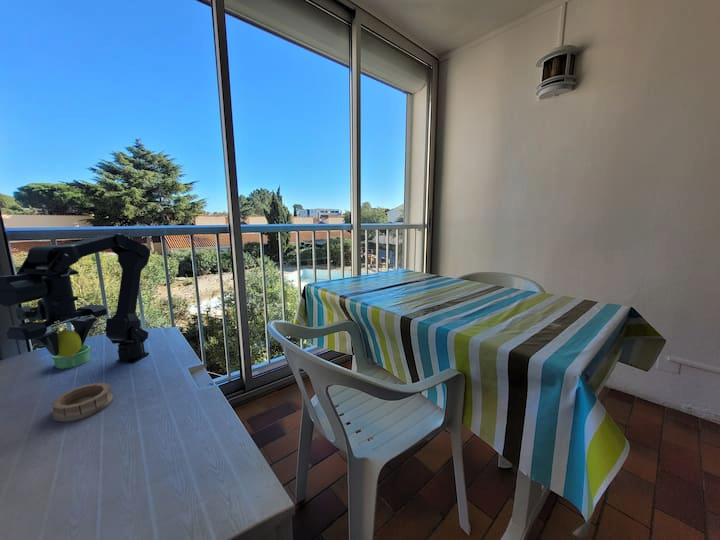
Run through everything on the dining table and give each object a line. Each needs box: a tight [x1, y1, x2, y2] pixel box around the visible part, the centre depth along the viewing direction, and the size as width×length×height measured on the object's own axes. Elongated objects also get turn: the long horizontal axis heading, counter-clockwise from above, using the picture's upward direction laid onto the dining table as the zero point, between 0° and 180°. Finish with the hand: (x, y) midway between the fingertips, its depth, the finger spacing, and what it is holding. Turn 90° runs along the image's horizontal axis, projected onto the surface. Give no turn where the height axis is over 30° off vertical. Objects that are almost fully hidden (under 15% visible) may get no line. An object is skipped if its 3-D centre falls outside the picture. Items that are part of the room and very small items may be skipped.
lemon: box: [57, 329, 81, 358], centre depth 76 cm, size 6×6×8 cm
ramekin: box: [50, 344, 91, 370], centre depth 94 cm, size 9×9×4 cm
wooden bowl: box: [51, 382, 114, 423], centre depth 72 cm, size 11×11×3 cm
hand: (68, 350), depth 76 cm, fingers closed on lemon, 5 cm apart
